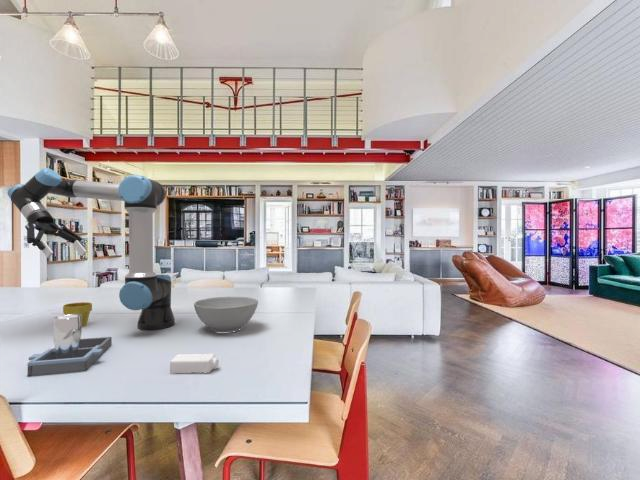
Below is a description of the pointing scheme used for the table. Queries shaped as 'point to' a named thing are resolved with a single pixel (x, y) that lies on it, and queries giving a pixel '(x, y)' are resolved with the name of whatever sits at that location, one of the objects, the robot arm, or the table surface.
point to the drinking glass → (67, 335)
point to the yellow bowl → (79, 310)
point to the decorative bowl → (225, 312)
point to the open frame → (86, 358)
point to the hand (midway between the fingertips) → (68, 254)
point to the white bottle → (193, 363)
